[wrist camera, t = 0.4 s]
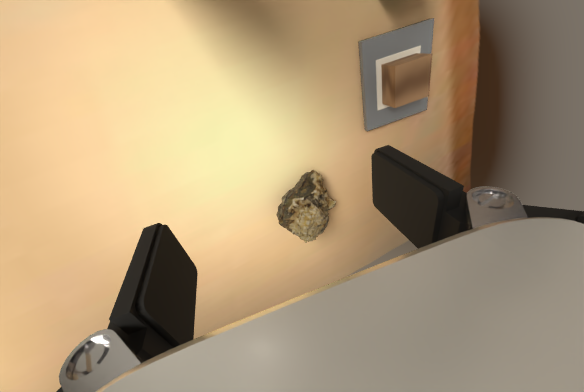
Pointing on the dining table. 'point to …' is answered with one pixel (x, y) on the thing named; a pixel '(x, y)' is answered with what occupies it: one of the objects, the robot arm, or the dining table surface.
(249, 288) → the dining table surface
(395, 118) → the grey square mat
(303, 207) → the mineral specimen
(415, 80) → the walnut block
